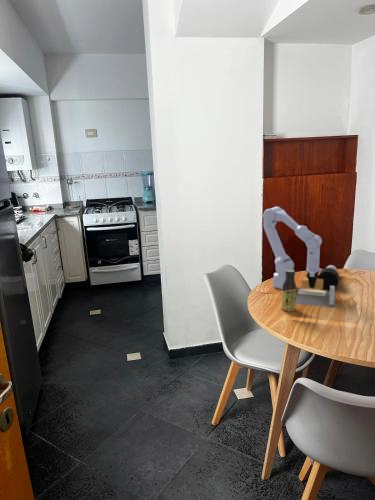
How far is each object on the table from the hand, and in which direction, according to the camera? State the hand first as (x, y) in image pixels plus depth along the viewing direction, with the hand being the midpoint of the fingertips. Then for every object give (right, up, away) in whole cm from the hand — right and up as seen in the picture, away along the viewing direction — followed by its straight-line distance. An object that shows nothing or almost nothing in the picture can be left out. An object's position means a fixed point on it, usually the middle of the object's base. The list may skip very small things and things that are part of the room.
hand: (312, 285), depth 184 cm
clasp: (+5, -6, -11) cm, 14 cm away
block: (0, -1, 0) cm, 1 cm away
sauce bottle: (-16, -10, -16) cm, 25 cm away
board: (0, -6, -5) cm, 8 cm away
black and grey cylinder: (+16, 0, +19) cm, 25 cm away
